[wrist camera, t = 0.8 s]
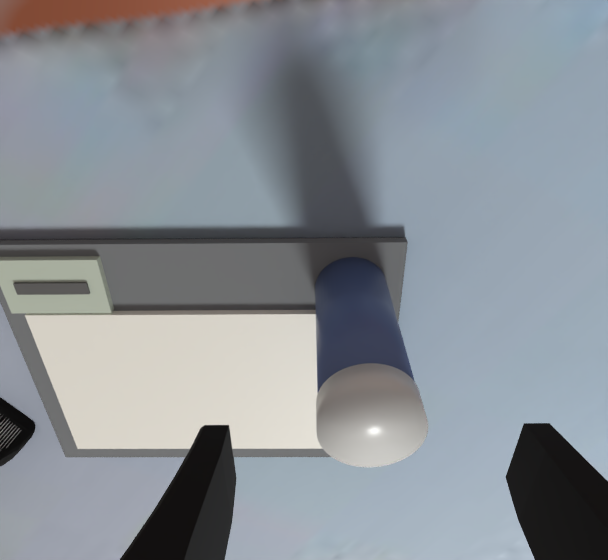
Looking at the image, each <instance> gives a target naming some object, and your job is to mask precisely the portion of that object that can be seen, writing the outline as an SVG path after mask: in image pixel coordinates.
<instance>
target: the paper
mask: <svg viewBox="0 0 608 560" xmlns="http://www.w3.org/2000/svg"><path fill="white" fill-rule="evenodd" d="M25 317H26V320H27V322H28V325H29V327H30V330H31V332H32V335H33V337H34V340H35V342H36V345H37V347H38V350H39V353H40V355H41V358H42V360H43V363H44V365H45V368H46V370H47V373H48V375H49V378H50V380H51V383H52V385H53V388H54V390H55V393H56V395H57V398H58V401H59V403H60V406H61V408H62V411H63V413H64V416H65V418H66V421H67V423H68V426H69V428H70V431H71V433H72V436H73V438H74V441H75V443H76V446H77V449H190V448H191V446H192V444H193V442H194V440H195V438H196V436H197V434H198V432H199V430H200V428H201V427H203V426H204V425H229V429H230V436H231V443H232V449H323V448H322V447H321V445H320V443H319V441H318V438H317V431H316V398H317V394H318V392H317V350H316V310H171V311H112V313H27V314H26V315H25Z"/></svg>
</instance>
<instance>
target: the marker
mask: <svg viewBox="0 0 608 560" xmlns="http://www.w3.org/2000/svg"><path fill="white" fill-rule="evenodd" d="M315 308H316V350H317V392H318V394H317V398H316V431H317V438H318V441H319V443H320V445H321V447H322V448H323V450H324V451H325V452H326V453H327V454H328V455H330V456H331V457H332V458H334V459H336V460H338V461H340V462H342V463H345V464H348V465H352V466H358V467H379V466H385V465H390V464H393V463H396V462H398V461H401V460H403V459H405V458H407V457H408V456H410V455H411V454H413V453H414V452H415V451H416V450H417V449H418V448H419V447H420V446H421V445H422V443H423V442H424V440H425V438H426V436H427V432H428V420H427V417H426V413H425V410H424V406H423V403H422V399H421V396H420V392H419V389H418V387H417V385H416V383H415V381H414V378H413V374H412V371H411V367H410V363H409V360H408V356H407V353H406V349H405V346H404V342H403V338H402V335H401V331H400V328H399V324H398V321H397V317H396V313H395V310H394V306H393V303H392V299H391V296H390V292H389V288H388V285H387V281H386V278H385V275H384V273H383V272H382V270H381V269H380V268H379V267H378V266H377V265H376V264H374V263H373V262H371V261H369V260H367V259H363V258H358V257H347V258H342V259H338V260H336V261H334V262H332V263H330V264H329V265H327V266H326V267H325V268H324V269H323V270H322V271H321V273H320V274H319V276H318V278H317V280H316V284H315Z"/></svg>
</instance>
